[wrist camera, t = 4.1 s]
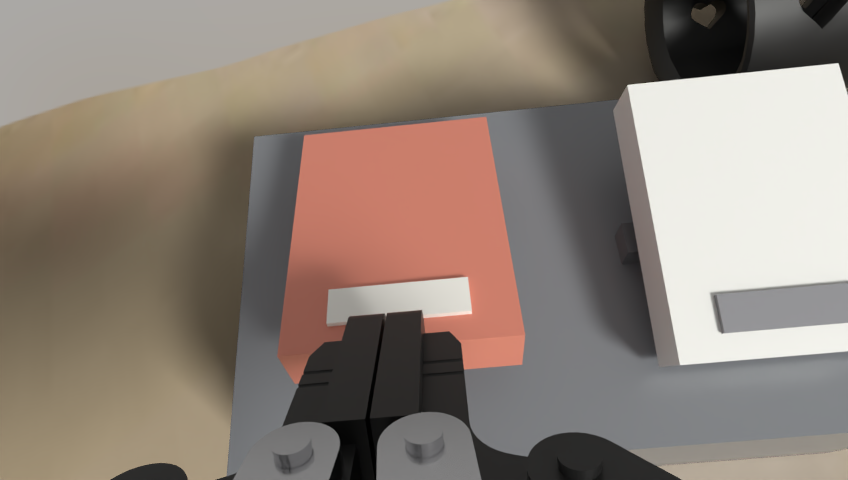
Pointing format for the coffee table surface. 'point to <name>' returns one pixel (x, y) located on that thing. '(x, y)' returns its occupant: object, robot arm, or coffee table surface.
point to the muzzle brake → (745, 36)
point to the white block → (740, 211)
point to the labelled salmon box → (402, 240)
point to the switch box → (554, 315)
